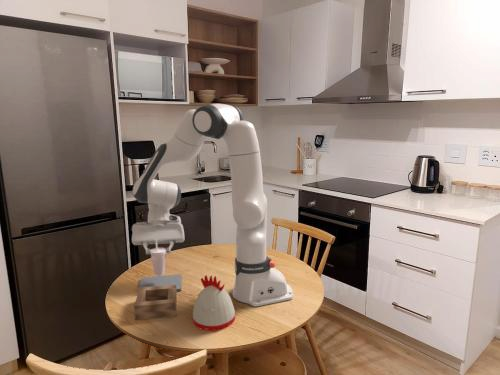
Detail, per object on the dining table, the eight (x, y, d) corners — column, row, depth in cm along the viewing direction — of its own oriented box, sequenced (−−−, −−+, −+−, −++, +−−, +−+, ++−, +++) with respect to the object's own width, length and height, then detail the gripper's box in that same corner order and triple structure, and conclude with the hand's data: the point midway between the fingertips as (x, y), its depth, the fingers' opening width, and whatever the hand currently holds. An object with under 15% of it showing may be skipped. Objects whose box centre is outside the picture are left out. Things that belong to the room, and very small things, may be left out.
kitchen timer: (205, 304, 130) (204, 265, 127) (241, 312, 125) (240, 270, 122) (184, 325, 117) (182, 282, 114) (223, 334, 112) (222, 289, 109)
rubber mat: (181, 276, 152) (181, 274, 152) (181, 291, 139) (180, 288, 139) (141, 279, 149) (141, 277, 149) (137, 294, 137) (137, 292, 136)
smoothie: (150, 271, 145) (148, 237, 142) (166, 269, 147) (165, 235, 145) (151, 277, 139) (149, 242, 136) (168, 275, 141) (167, 240, 139)
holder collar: (176, 297, 135) (176, 284, 134) (175, 316, 122) (175, 302, 121) (140, 300, 133) (139, 287, 132) (135, 320, 120) (134, 306, 119)
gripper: (131, 219, 144) (129, 251, 137) (183, 216, 148) (184, 248, 140) (133, 226, 149) (131, 258, 142) (184, 224, 153) (185, 254, 145)
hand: (158, 253), depth 141 cm, fingers closed on smoothie, 6 cm apart
